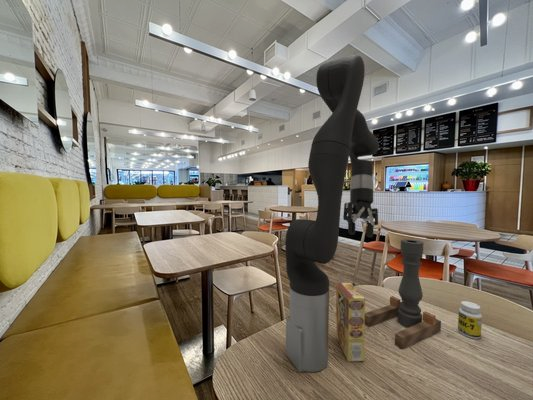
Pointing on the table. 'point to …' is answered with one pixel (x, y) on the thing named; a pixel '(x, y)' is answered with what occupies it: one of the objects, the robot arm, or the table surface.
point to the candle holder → (410, 283)
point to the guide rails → (409, 334)
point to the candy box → (350, 321)
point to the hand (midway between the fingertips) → (361, 235)
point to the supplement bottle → (470, 320)
